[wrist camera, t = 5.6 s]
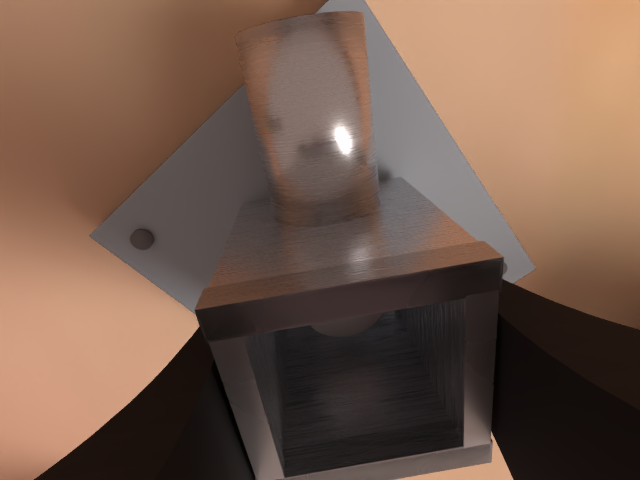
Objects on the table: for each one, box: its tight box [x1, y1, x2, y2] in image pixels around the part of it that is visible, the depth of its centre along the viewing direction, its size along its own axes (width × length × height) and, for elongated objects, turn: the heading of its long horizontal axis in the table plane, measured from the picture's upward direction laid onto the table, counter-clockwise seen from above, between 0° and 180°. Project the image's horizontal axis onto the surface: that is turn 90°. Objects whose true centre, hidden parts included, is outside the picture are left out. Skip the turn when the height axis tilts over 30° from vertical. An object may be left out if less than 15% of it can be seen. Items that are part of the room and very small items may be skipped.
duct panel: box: [90, 0, 536, 337], centre depth 12 cm, size 11×12×4 cm
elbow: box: [194, 11, 504, 480], centre depth 9 cm, size 10×5×6 cm, turn 8°
